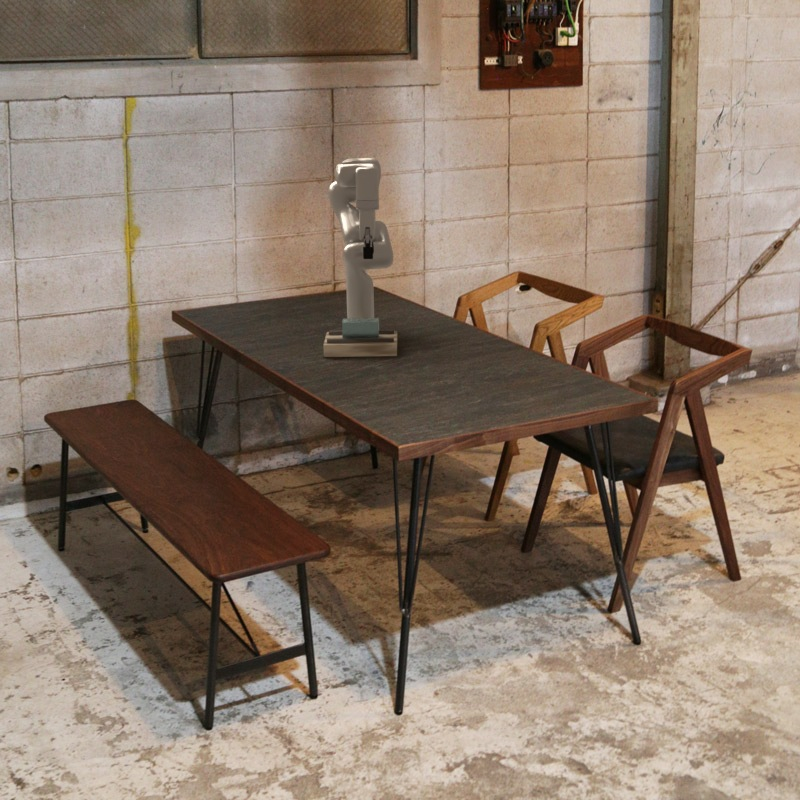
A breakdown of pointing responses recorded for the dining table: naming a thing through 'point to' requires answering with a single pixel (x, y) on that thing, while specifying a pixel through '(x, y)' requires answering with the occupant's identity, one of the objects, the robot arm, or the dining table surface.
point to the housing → (360, 328)
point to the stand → (360, 345)
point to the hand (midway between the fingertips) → (368, 256)
